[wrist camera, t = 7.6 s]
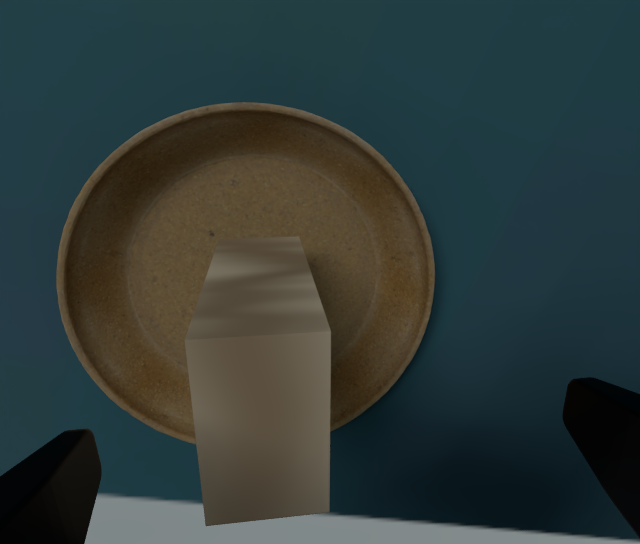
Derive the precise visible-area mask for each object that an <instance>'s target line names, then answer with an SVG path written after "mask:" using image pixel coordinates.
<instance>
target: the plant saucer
mask: <svg viewBox="0 0 640 544" xmlns="http://www.w3.org/2000/svg"><path fill="white" fill-rule="evenodd" d="M297 236H299V238H300V241H301V244H302V247H303V250H304V253H305V256H306V259H307V262H308V265H309V268H310V271H311V273H312V276H313V279H314V282H315V285H316V288H317V291H318V294H319V297H320V300H321V303H322V306H323V309H324V312H325V315H326V318H327V321H328V324H329V327H330V330H331V387H330V431H333V430H335V429H337V428H339V427H341V426H343V425H344V424H346V423H348V422H350V421H351V420H353V419H354V418H356V417H357V416H359V415H360V414H362V413H363V412H364V411H365V410H366V409H367V408H369V407H371V406H372V405H373V404H374V403H375V402H376V401H378V400H379V399H380V398H381V397H382V396H383V395H384V394H385V393H386V392H387V391H388V390H389V389H390V388H391V387H392V385H393V384H394V383H395V382H396V381H397V380H398V379H399V377H400V376H401V375H402V373H403V372H404V370H405V369H406V367H407V366H408V365H409V363H410V361H411V360H412V358H413V356H414V355H415V353H416V351H417V349H418V347H419V345H420V343H421V340H422V337H423V335H424V333H425V330H426V327H427V323H428V320H429V317H430V313H431V307H432V302H433V294H434V286H435V268H434V267H435V264H434V255H433V249H432V244H431V239H430V235H429V233H428V229H427V226H426V222H425V220H424V217H423V214H422V213H421V211H420V208H419V206H418V204H417V202H416V200H415V198H414V196H413V194H412V193H411V191H410V189H409V188H408V186H407V185H406V184H405V182H404V181H403V179H402V178H401V177H400V175H399V174H398V173H397V172H396V171H395V170H394V169H393V167H392V166H391V165H390V164H389V163H388V162H387V160H386V159H385V158H384V157H383V156H382V155H381V154H380V153H379V152H377V151H376V150H375V149H374V148H373V147H372V146H371V145H369V144H368V143H367V142H365V141H364V140H362V139H361V138H360V137H358V136H357V135H355V134H354V133H352V132H351V131H349V130H347V129H346V128H343V127H341V126H339V125H338V124H336V123H333V122H332V121H329V120H327V119H324V118H322V117H320V116H317V115H314V114H311V113H308V112H306V111H303V110H299V109H294V108H290V107H285V106H280V105H273V104H265V103H252V102H237V103H225V104H216V105H210V106H205V107H200V108H196V109H192V110H187V111H184V112H182V113H179V114H176V115H173V116H171V117H168V118H166V119H164V120H161V121H160V122H158V123H156V124H154V125H151V126H149V127H147V128H145V129H143V130H142V131H140V132H139V133H137V134H136V135H135V136H133V137H132V138H130V139H129V140H127V141H126V142H125V143H123V144H122V145H121V146H120V147H118V148H117V149H116V150H115V151H114V152H113V153H112V154H110V155H109V156H108V157H107V158H106V159H105V160H104V162H102V163H101V164H100V165H99V167H98V168H97V169H96V170H95V171H94V173H93V174H92V175H91V176H90V178H89V179H88V180H87V182H86V183H85V185H84V186H83V188H82V190H81V192H80V194H79V195H78V197H77V198H76V200H75V202H74V204H73V206H72V208H71V210H70V212H69V216H68V219H67V221H66V224H65V226H64V229H63V234H62V237H61V241H60V246H59V252H58V261H57V282H56V284H57V294H58V303H59V308H60V313H61V318H62V322H63V324H64V328H65V331H66V333H67V335H68V339H69V341H70V343H71V345H72V348H73V350H74V351H75V353H76V355H77V357H78V359H79V360H80V362H81V363H82V365H83V367H84V368H85V370H86V372H87V373H88V374H89V375H90V377H91V378H92V379H93V380H94V381H95V383H96V384H97V385H98V386H99V387H100V388H101V389H102V390H103V392H104V393H105V394H106V395H107V396H108V397H109V398H110V399H111V400H112V401H114V402H115V403H116V404H117V405H118V406H119V407H121V408H122V409H124V410H125V411H127V412H128V413H129V414H131V415H132V416H133V417H135V418H137V419H138V420H140V421H142V422H143V423H145V424H147V425H149V426H150V427H152V428H154V429H155V430H157V431H160V432H162V433H165V434H168V435H170V436H172V437H175V438H178V439H180V440H183V441H186V442H190V443H193V444H196V436H195V427H194V418H193V409H192V401H191V392H190V383H189V374H188V366H187V357H186V348H185V337H186V334H187V331H188V329H189V326H190V323H191V320H192V317H193V314H194V311H195V308H196V305H197V302H198V299H199V296H200V293H201V290H202V287H203V284H204V281H205V279H206V276H207V273H208V270H209V267H210V264H211V261H212V258H213V255H214V252H215V249H216V246H217V243H218V240H219V239H236V238H267V237H297Z"/></svg>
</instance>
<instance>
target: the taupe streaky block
mask: <svg viewBox="0 0 640 544" xmlns="http://www.w3.org/2000/svg"><path fill="white" fill-rule="evenodd" d="M185 348H186V357H187V366H188V374H189V383H190V392H191V401H192V409H193V418H194V427H195V436H196V445H197V453H198V462H199V471H200V480H201V488H202V497H203V506H204V514H205V524H206V526H211V525H219V524H229V523H237V522H247V521H256V520H265V519H274V518H283V517H291V516H300V515H310V514H319V513H328V512H329V497H330V387H331V330H330V327H329V324H328V321H327V318H326V315H325V312H324V309H323V306H322V303H321V300H320V297H319V294H318V291H317V288H316V285H315V282H314V279H313V276H312V273H311V271H310V268H309V265H308V262H307V259H306V256H305V253H304V250H303V247H302V244H301V241H300V238H299V236H297V237H267V238H236V239H219V240H218V243H217V246H216V249H215V252H214V255H213V258H212V261H211V264H210V267H209V270H208V273H207V276H206V279H205V281H204V284H203V287H202V290H201V293H200V296H199V299H198V302H197V305H196V308H195V311H194V314H193V317H192V320H191V323H190V326H189V329H188V331H187V334H186V337H185Z"/></svg>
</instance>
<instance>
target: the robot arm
mask: <svg viewBox="0 0 640 544" xmlns="http://www.w3.org/2000/svg"><path fill="white" fill-rule="evenodd" d="M563 421H564V424H565V427H566V429H567V430H568V432H569V433H570V435H571V437H572V438H573V440H574V441H575V443H576V445H577V446H578V448H579V449H580V451H581V453H582V454H583V456H584V458H585V459H586V461H587V462H588V464H589V466H590V467H591V469H592V470H593V472H594V474H595V475H596V477H597V478H598V480H599V482H600V483H601V485H602V487H603V488H604V490H605V491H606V493H607V494H608V496H609V497H610V499H611V500H612V502H613V503H614V504H615V506H616V507H617V509H618V510H619V511H620V513H621V514H622V515H623V517H624V518H625V519H626V521H627V522H628V523H629V525H630V526H631V527H632V529H633V530H634V531H635V533H636V534H637V535H638V537H639V538H640V394H638V393H635V392H633V391H630V390H627V389H624V388H621V387H619V386H616V385H613V384H610V383H607V382H605V381H602V380H599V379H596V378H591V377H588V378H578V379H573V380H571V381H570V382H569V384H568V387H567V392H566V398H565V403H564V408H563ZM101 471H102V470H101V463H100V459H99V455H98V450H97V446H96V442H95V438H94V435H93V433H92V431H91V430H89V429H77V430H68V431H64V432H63V433H61V434H60V435H58V436H57V437H55V438H54V439H52V440H51V441H50V442H48V443H47V444H45V445H44V446H43V447H41V448H40V449H38V450H37V451H36V452H34V453H33V454H31V455H30V456H28V457H27V458H26V459H24V460H23V461H21V462H20V463H19V464H17V465H16V466H14V467H13V468H11V469H10V470H9V471H7V472H6V473H4V474H3V475H2V476H0V544H84V542H85V539H86V535H87V531H88V527H89V523H90V519H91V515H92V511H93V508H94V504H95V500H96V496H97V492H98V488H99V484H100V480H101Z"/></svg>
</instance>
